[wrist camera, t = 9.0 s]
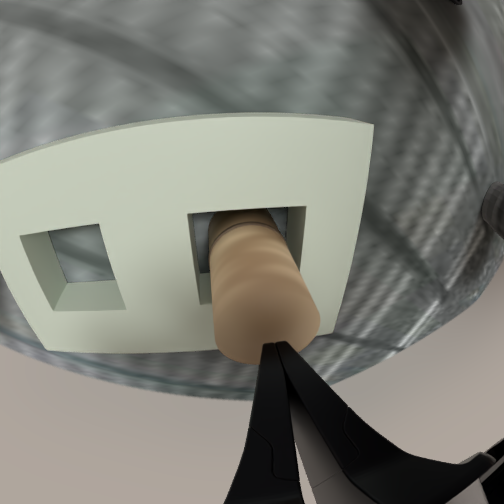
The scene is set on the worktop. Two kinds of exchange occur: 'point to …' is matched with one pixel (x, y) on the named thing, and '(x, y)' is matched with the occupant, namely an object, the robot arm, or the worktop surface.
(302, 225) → the board
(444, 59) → the worktop surface
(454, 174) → the worktop surface
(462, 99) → the worktop surface
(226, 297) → the peg
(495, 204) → the beverage cup
